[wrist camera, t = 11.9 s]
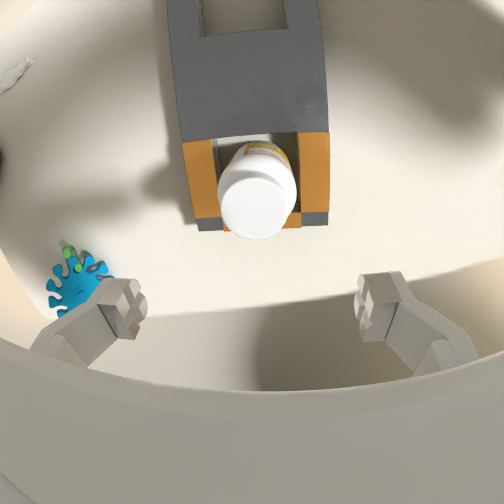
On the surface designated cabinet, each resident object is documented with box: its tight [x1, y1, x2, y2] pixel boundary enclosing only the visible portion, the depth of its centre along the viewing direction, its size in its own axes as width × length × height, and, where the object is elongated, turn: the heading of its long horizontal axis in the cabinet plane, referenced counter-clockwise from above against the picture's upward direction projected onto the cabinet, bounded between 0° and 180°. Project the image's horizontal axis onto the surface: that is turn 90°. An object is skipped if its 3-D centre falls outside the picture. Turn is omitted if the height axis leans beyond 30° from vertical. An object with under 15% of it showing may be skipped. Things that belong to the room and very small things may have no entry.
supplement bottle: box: [217, 140, 296, 240], centre depth 20 cm, size 5×5×10 cm
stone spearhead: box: [0, 57, 33, 95], centre depth 17 cm, size 15×3×2 cm, turn 98°
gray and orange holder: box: [167, 0, 330, 231], centre depth 19 cm, size 12×26×2 cm, turn 5°
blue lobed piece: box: [46, 247, 114, 318], centre depth 30 cm, size 11×6×10 cm
